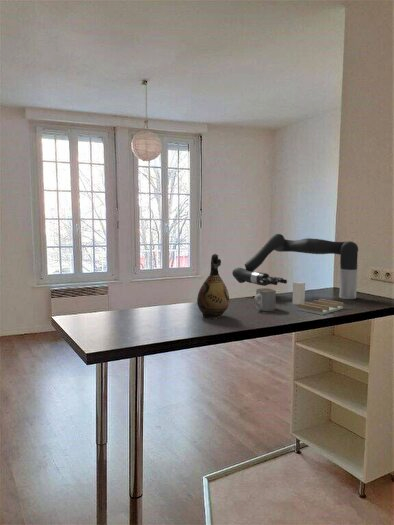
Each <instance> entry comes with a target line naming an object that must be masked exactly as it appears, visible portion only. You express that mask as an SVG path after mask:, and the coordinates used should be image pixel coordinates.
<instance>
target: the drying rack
mask: <svg viewBox="0 0 394 525" xmlns="http://www.w3.org/2000/svg"><path fill="white" fill-rule="evenodd" d="M343 309H344V302H341V301H336V300H329V299H323V298H318V299H317V300H316V299H313V300H312V302H307V301H305V302H304V304H298V305H297V311H302V312H305V313H311V314H317V315H321V316H322V315H327V314H329V313H333V312H336V311H340V310H343Z"/></svg>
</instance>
